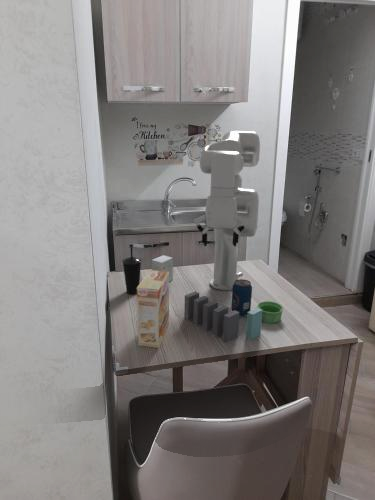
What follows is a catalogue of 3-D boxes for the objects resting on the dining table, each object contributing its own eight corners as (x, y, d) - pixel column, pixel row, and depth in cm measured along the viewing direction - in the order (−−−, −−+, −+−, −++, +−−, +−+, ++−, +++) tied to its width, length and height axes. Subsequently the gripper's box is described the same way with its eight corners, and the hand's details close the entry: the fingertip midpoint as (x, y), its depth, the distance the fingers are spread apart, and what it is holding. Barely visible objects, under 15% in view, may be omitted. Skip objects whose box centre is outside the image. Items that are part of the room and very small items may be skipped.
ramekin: (268, 326, 126) (269, 315, 125) (251, 315, 133) (251, 304, 132) (287, 320, 131) (288, 308, 129) (269, 309, 138) (270, 299, 136)
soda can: (227, 310, 137) (229, 280, 133) (244, 307, 139) (246, 277, 136) (236, 318, 131) (238, 287, 127) (253, 315, 133) (256, 284, 129)
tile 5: (222, 329, 124) (224, 305, 121) (227, 331, 122) (228, 307, 120) (212, 334, 121) (213, 309, 118) (216, 336, 119) (217, 311, 116)
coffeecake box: (159, 348, 113) (159, 289, 106) (137, 346, 114) (135, 287, 107) (170, 324, 127) (170, 270, 120) (149, 322, 128) (148, 269, 122)
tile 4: (213, 324, 127) (214, 300, 124) (217, 326, 126) (218, 302, 123) (202, 328, 124) (203, 304, 121) (206, 331, 122) (207, 306, 120)
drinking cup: (137, 297, 146) (135, 249, 140) (120, 294, 148) (117, 246, 142) (145, 289, 153) (144, 243, 147) (128, 286, 155) (127, 241, 149)
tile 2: (194, 314, 134) (195, 291, 131) (198, 316, 132) (199, 293, 129) (184, 318, 130) (184, 295, 128) (188, 320, 129) (188, 297, 126)
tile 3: (203, 318, 130) (204, 295, 127) (207, 321, 129) (208, 297, 126) (193, 323, 127) (193, 299, 124) (197, 325, 126) (197, 301, 123)
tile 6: (233, 334, 121) (234, 310, 118) (237, 337, 119) (239, 312, 116) (222, 340, 117) (223, 315, 115) (227, 343, 116) (228, 317, 113)
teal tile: (255, 332, 122) (257, 307, 120) (260, 334, 121) (262, 309, 118) (245, 337, 119) (247, 312, 116) (250, 339, 118) (252, 314, 115)
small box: (163, 276, 166) (163, 254, 163) (173, 279, 163) (173, 257, 160) (151, 282, 160) (151, 259, 157) (161, 285, 157) (161, 262, 154)
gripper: (246, 191, 121) (243, 242, 126) (194, 190, 120) (192, 241, 125) (252, 194, 114) (248, 248, 119) (195, 194, 113) (194, 248, 118)
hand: (219, 245), depth 122 cm, fingers open, 9 cm apart
